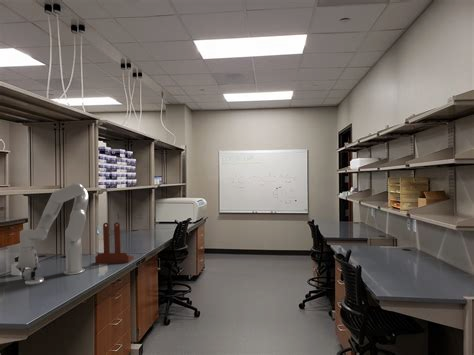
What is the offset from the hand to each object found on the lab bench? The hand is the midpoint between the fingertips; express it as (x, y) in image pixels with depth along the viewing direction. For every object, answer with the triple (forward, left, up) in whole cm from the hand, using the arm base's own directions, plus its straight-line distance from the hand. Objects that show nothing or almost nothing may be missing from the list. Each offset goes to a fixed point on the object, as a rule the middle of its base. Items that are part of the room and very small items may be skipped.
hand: (28, 277), depth 212 cm
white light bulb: (0, 0, -1) cm, 1 cm away
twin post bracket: (-37, +43, -1) cm, 57 cm away
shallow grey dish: (+8, +8, -1) cm, 11 cm away
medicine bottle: (-13, -12, -1) cm, 18 cm away
